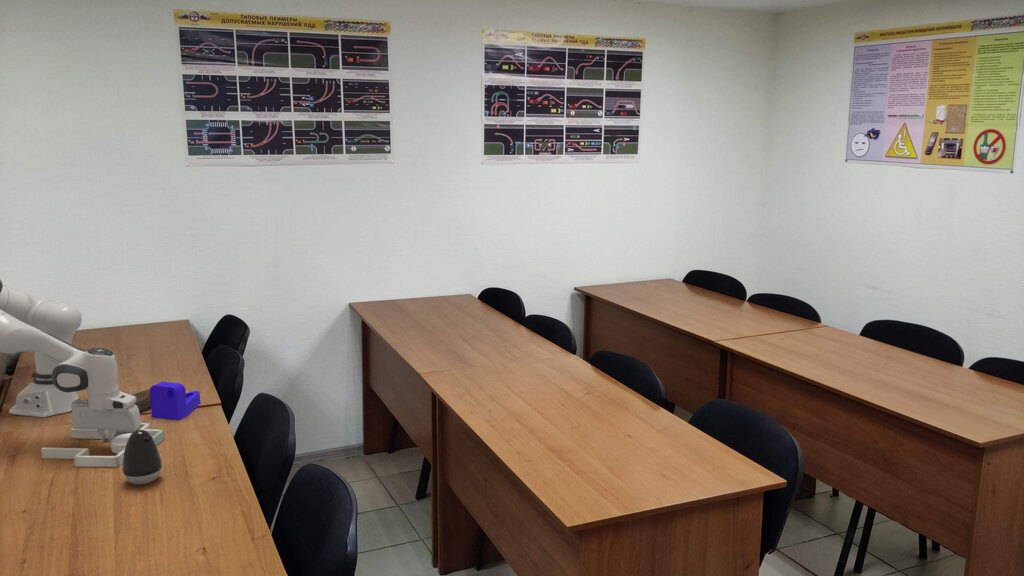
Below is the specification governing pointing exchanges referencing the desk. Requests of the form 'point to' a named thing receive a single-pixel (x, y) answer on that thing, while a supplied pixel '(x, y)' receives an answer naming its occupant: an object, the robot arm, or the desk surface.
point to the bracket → (172, 401)
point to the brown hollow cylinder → (143, 400)
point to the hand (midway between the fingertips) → (108, 442)
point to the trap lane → (83, 455)
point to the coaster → (119, 443)
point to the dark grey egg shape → (141, 458)
